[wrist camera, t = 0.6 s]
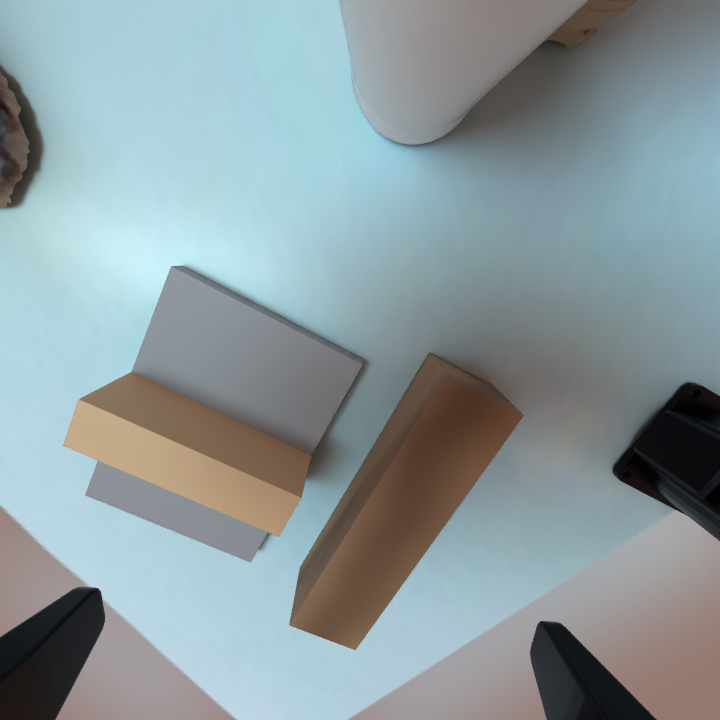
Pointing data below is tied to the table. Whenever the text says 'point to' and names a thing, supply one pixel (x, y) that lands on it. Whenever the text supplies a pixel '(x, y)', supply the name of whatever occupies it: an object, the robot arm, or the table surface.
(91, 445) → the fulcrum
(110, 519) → the table surface
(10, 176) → the antler
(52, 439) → the table surface
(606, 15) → the handle
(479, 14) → the drinking glass
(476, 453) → the batten
